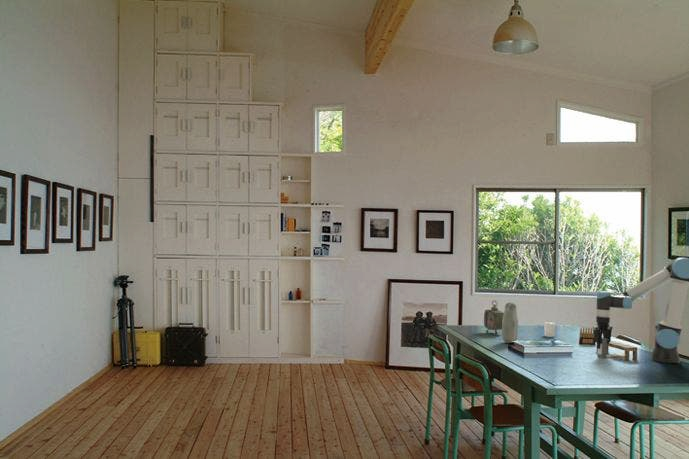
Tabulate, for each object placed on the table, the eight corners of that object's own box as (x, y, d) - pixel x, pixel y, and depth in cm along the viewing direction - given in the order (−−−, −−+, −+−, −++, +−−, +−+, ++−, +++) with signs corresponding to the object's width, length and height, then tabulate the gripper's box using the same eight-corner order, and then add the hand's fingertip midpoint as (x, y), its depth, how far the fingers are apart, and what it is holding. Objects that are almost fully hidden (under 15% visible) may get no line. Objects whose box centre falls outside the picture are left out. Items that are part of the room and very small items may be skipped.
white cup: (552, 335, 391) (552, 322, 391) (557, 337, 383) (557, 323, 383) (542, 335, 391) (542, 321, 391) (546, 337, 383) (546, 323, 383)
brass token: (631, 357, 326) (631, 355, 326) (625, 357, 325) (625, 355, 325) (625, 355, 330) (625, 353, 330) (620, 355, 329) (620, 353, 329)
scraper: (603, 358, 318) (604, 338, 319) (596, 355, 324) (596, 336, 324) (626, 357, 324) (627, 337, 324) (618, 354, 330) (619, 336, 330)
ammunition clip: (594, 344, 361) (594, 327, 361) (595, 345, 359) (596, 327, 359) (578, 343, 362) (579, 326, 362) (579, 344, 360) (580, 327, 360)
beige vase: (498, 342, 358) (500, 301, 358) (510, 341, 361) (512, 301, 362) (508, 345, 349) (509, 303, 349) (520, 344, 352) (521, 303, 352)
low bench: (637, 360, 315) (637, 347, 315) (626, 361, 313) (627, 347, 313) (606, 351, 338) (606, 339, 338) (596, 352, 335) (596, 339, 335)
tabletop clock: (483, 332, 395) (484, 299, 395) (493, 331, 398) (494, 299, 398) (494, 335, 381) (495, 301, 381) (505, 335, 384) (506, 301, 384)
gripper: (608, 315, 328) (607, 351, 328) (588, 315, 323) (587, 352, 323) (618, 316, 321) (617, 354, 321) (597, 317, 316) (596, 355, 316)
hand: (602, 353), depth 322 cm, fingers closed on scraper, 3 cm apart
